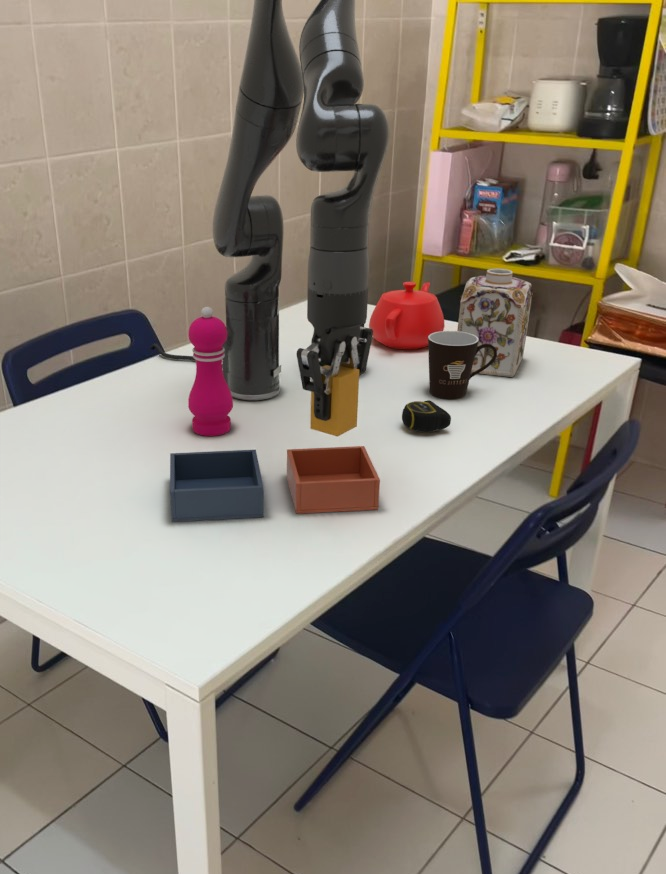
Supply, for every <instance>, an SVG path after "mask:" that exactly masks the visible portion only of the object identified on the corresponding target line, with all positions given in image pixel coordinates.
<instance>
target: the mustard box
mask: <svg viewBox="0 0 666 874" xmlns="http://www.w3.org/2000/svg"><path fill="white" fill-rule="evenodd" d="M323 368H327V369H330V368H331V366H327V365H325V366H323ZM321 376H322V382H323V384H324V383H325V378H326V376H325V375H324V374H321ZM310 381H312V378H310ZM359 385H360V376H359V369H355V368H353V369H351V368H347V367H343V366H340V367H339V372H338V375H337V376H336V377H333V382H332V389H331V392H330V393H331V418H330V419H329V420H327V421H323V420H320V419H317V418H316V417H315V415H314V392H311V391H310V429H311V430H313V431H317V432H321V433H324V434H328V435H331V436H334V437H340V436H341V435H343V434H346V433H348V432H350V431H351V430H353V429H355V428H357V427H358V412H359V411H358V407H359V388H360V387H359Z"/></svg>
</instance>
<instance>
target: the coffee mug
mask: <svg viewBox="0 0 666 874" xmlns="http://www.w3.org/2000/svg"><path fill="white" fill-rule="evenodd" d="M478 341H479V339H478V337H477V336H475V335H473V334H470V333H466V332H459V331H457V330H443V331H440V332H435V333H432V334H430V335H429V336H428V346H427V347H428V348H427V349H428V351H427V352H428V381H429V382H428V383H429V394H430V396H432V397H434V398H438V399H442V400H459V399H463V398H464V397H466V395H467V391H468V387H469V383H470V380H472V378H473V377H475V376H476V375H479V374H480V372H481V371H483V370H484V369H486V368H487V367H488V366H490V365H491V364H492V363H493V362H494V360H495V359H496V357H497V350H496V348H495V347H494V346H493V345H491V344H483V345H480V346H478V347H477V345H478ZM485 347H489V348H491V349H492V350H493V352H494V355H493V358H492V359H491V360H490V361H489V362H488V363H487V364H486V365H485V366H483V367H481V368H480V369H478V370H476V371H475V372H473V373H472V372H471V370H472V366H473V362H474V358H475V356H476V354H477V353H478V351H479V350H481V349H482V348H485Z"/></svg>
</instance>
